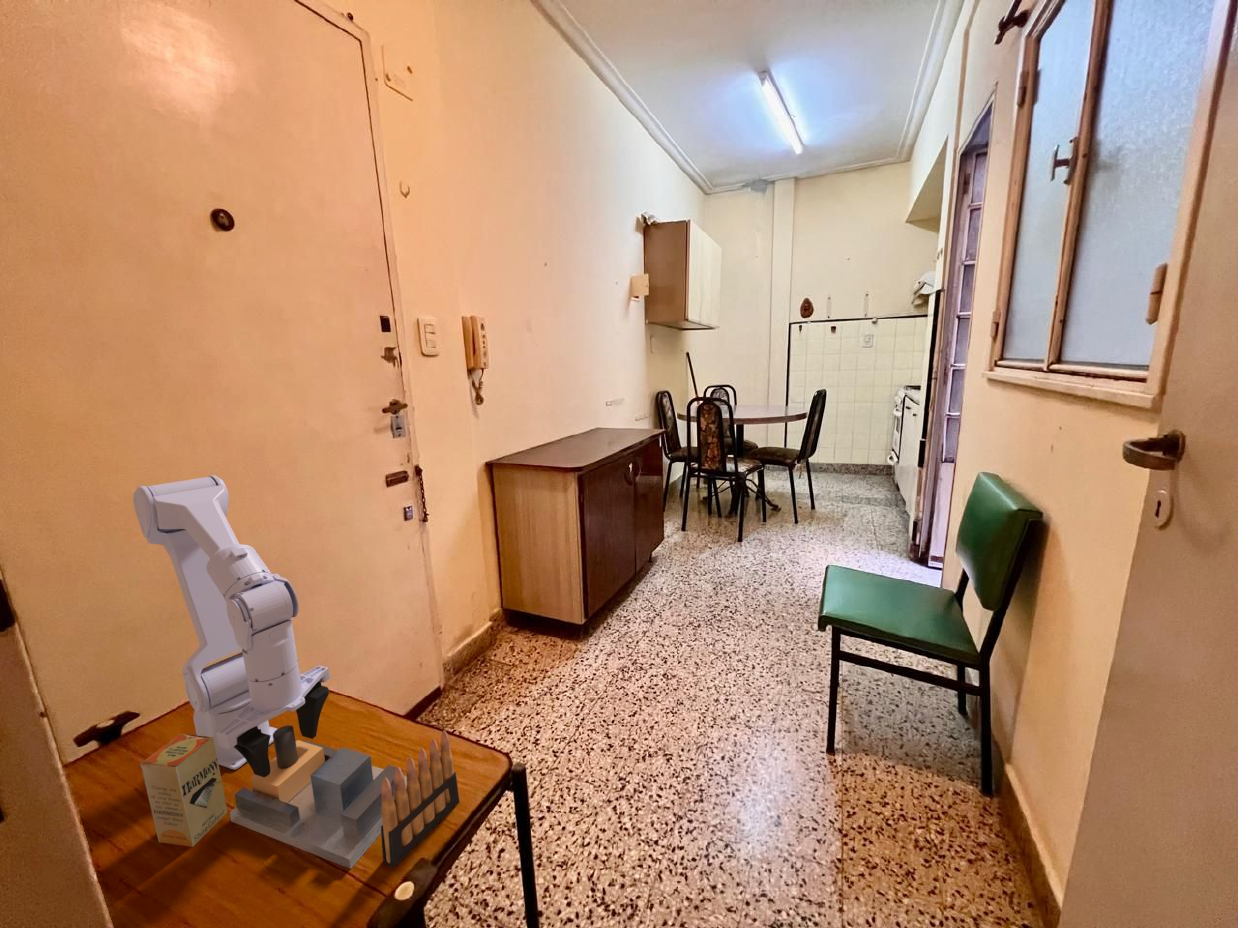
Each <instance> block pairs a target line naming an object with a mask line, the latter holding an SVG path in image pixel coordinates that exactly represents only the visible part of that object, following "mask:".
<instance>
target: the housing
mask: <svg viewBox="0 0 1238 928" xmlns="http://www.w3.org/2000/svg"><path fill="white" fill-rule="evenodd" d="M337 750H338V751H337V752H336V753H335V754H334V755H333V756H331V757H330V758H329V759H328V760H327V761H326V762H325V763H323V764H322V765H321V766H320V767H319V768H318V769H317V770H316V771H314V772H313V773H312V774H311V775H310V776H311V782H312V789H313V796H314V802H315V809H316V813H318V814H321V815H323V816H326V817H329V818H332V819H334V820H337V821H340V822H342V820H341V813H342V812H343V811H344V810H345V809H346V808H347V807H348V806H349V805H350V804H351V803H352V802H353V801H354V800H355V799H356V798H357V797H358V796H359V795H360V794H361V793H362V792H363V791H364V790H365V789H366V788H367V786H368V785H369V784H370V783H371V782H372V781H373V773H372V766H373V765H372V757H371V755H370V754H366V753H363V752H360V751H357V750H353V749H350V748H346V747H343V746H341V748H339V749H337Z"/></svg>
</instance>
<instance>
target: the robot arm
mask: <svg viewBox="0 0 1238 928" xmlns="http://www.w3.org/2000/svg"><path fill="white" fill-rule="evenodd" d="M132 498H133V499H132V500H133V505H134V506H133V507H134V512H135V515H136V517H137V521H138V523H139V526H140V530H141V532H142V535H143V537H144V538H145V539H146V541H147V543H148V544H151V545H152V544H153V545H158V546H159V545H160V546H163V548H164V549H165V551H166V553H167V554H168V556H169V558H170V560H171V563H172V566H173V569H174V571H175V572H174V573H175V575H176V578H177V581H178V584H179V588H180V590H181V593H182V596H183V599H184V602H185V604H186V608H187V610H188V614H189V617H190V620H191V623H192V626H193V629H194V631H195V635H196V637H197V639H198V643H199V646H198V647H197V649H195V651H194V652H193V653H192V654H191V655H190V657H189V658H188V659H187V660H186V661H185V662H184V664H183V667H182V676H183V680H184V688H185V693H186V697H187V699H188V701H189V704H190V706H192V708H193V709H194V711H193V723H194V727H195V733H196V735H197V736H207V737H213V739H214V744H215V749H216V754H217V759H218V764H219V766H222V767H225V768H228V769H231V770H237V769H239V768H240V767H242V766H243V765H244V764H246V763H247V764H248V765H249V766H250V768H251V770H252V772H253V775H254V774H255V775H258V776H261V777H266V776H268V775H269V774H270V763H269V762H270V757H269V746H270V745H271V744H272V743H274V740H273V733H274V732H275V731H276V730H277V729H278V728H276V727H273V726H270V723H269V721H270V720H272V719H274V718H276V717H278V716H280V715H282V714H284V713H287V712H290V713H291V712H295V713H296V715H297V722H298V726H299V731H300V734H301V736H302V737H304V738H307V739H310V740H314V738H316V737H317V733H318V727H319V721H320V718H321V717H320V716H321V713H322V710H323V707H324V705H325V702H326V700H327V699H328V696H329V695H330V689H329V687H328V686H325V685H322V683H326V682H328V681H329V680H330V678H331V676H330V671H329V670H330V669H329V667H327V666H323V665H317V666H315V667H314V668H312V669H310V670H307V671H305V672H304V673H300V666H299V659H298V654H297V653H298V652H297V646H296V639H295V634H294V625H293V620H292V618H296V617H298V614H299V612H300V611H299V610H300V608H299V600H298V596H297V593H296V591H295V589H294V588H293V586H292V584H291V582H290V581H289V580H288V579H287V578H286V577H283V576H280V574H279V573H272V572H271V570H269V568H268V567H267V565H266V564H265V562H264V561H263V560H262V558H261V556H260V555H259V554H258V552H257V551H256V549H255V548H254V547H253V546H251V545H249V544H243V543H241V544H240V542H239V540H238V538H237V536H236V534H235V532H234V531H233V529H232V525H230V523H229V520H228V518H227V517H226V516H227V515H228V513H229V511H228V510H229V509H228V508H229V506H230V495H229V491H228V487H227V486H226V484H225V482H224V480H223V479H222V478H220V477H218V476H217V475H215V474H212V475H211V474H210V475H208V476H206V477H199V478H192V479H184V480H179V481H173V482H172V481H171V482H168V483H167V482H166V483H161V484H152V485H147V486H146V485H140V486H138V487H136V489H135V491H134V492H133V495H132ZM239 651H241V652H240V653H237V654H234V653H236V652H239ZM232 654H234V655H232ZM229 655H232V656H230V657H227V656H229ZM225 657H227V658H225ZM223 658H225V659H223ZM220 659H222V660H220ZM217 660H220V661H217ZM215 661H217V662H215ZM213 662H215V663H213ZM211 663H213V664H211ZM209 664H210V665H209ZM207 665H208V666H207Z"/></svg>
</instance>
